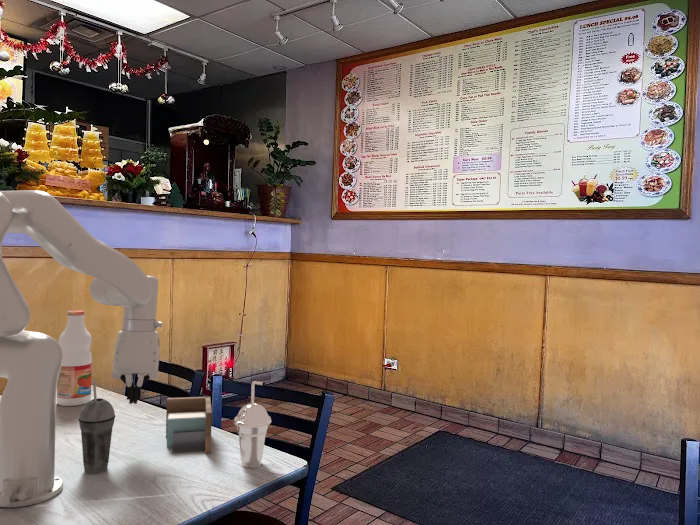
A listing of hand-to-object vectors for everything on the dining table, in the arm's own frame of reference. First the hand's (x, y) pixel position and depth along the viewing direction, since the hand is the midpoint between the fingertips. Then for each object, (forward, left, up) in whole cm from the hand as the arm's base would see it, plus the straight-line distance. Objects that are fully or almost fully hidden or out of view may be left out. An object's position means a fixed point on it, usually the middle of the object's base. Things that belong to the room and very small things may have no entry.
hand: (133, 402), depth 131 cm
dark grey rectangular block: (-3, -13, -11) cm, 18 cm away
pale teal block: (+2, -12, -11) cm, 17 cm away
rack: (0, -13, -11) cm, 17 cm away
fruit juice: (+43, +21, -11) cm, 49 cm away
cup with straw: (-15, -27, -11) cm, 33 cm away
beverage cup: (-12, +6, -11) cm, 18 cm away
